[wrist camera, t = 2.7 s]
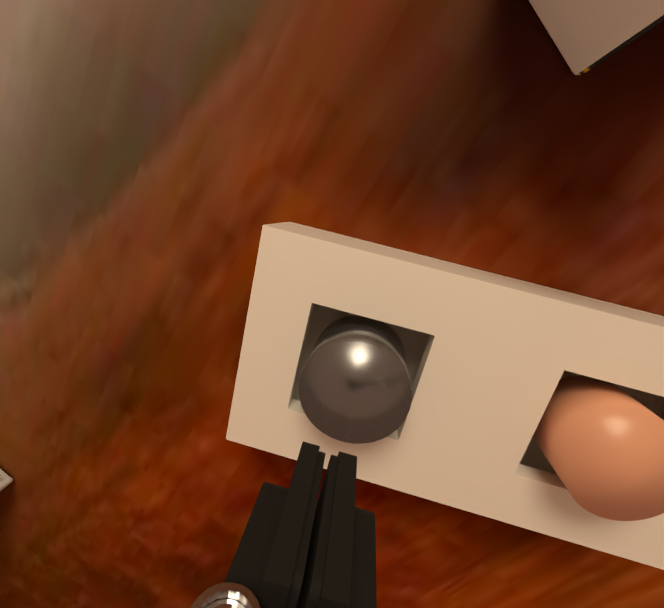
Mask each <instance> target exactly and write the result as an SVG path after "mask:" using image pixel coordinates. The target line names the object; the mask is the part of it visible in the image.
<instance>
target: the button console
mask: <svg viewBox="0 0 664 608" xmlns="http://www.w3.org/2000/svg"><path fill="white" fill-rule="evenodd" d="M350 315H360V316H363V317H367V318H371V319H374V320H378V321H382V322H385V323H386V324H388V325H389V326H390V327H391V328H392V329H393V330H394V331H395V332H396V333H397V335H398V336H399V338H400V340H401V342H402V344H403V347H404V351H405V357H406V362H407V368H408V373H409V379H410V385H411V390H412V401H411V407H410V410H409V413H408V415H407V417H406V419H405V420H404V422H403V423H402V424H401V426H400V427H399V428H398V429H397V430H396V431H395V432H393V433H392V434H390V435H389V436H387V437H385V438H383V439H381V440H378V441H375V442H371V443H364V444H353V443H346V442H342V441H339V440H336V439H333V438H331V437H329V436H327V435H326V434H324V433H322V432H321V431H320V430H318V429H317V428H316V427H315V426H314V425H313V424H312V423H311V422H310V420H309V419H308V418H307V416H306V414H305V413H304V411H303V408H302V406H301V402H300V399H299V382H300V378H301V374H302V372H303V370H304V368H305V366H306V364H307V361H308V359H309V357H310V355H311V353H312V351H313V349H314V347H315V345H316V343H317V340H318V338H319V336H320V335H321V333H322V332H323V330H324V329H325V328H326V327H327V326H328V325H330V324H331V323H332V322H334V321H335V320H337V319H340V318H342V317H345V316H350ZM578 375H584V376H588V377H591V378H595V379H599V380H603V381H606V382H610V383H613V384H615V385H616V386H618V387H619V388H620V389H622V390H623V391H625V392H626V393H627V394H629V395H630V396H631V397H633V398H634V399H635V400H637V401H638V402H639V403H641V404H642V405H643V406H645V407H646V408H648V409H649V410H650V411H652V412H653V413H654V414H656V415H657V416H658V417H660V418H661V419H662V420H664V316H661V315H657V314H653V313H649V312H645V311H641V310H637V309H633V308H629V307H625V306H621V305H617V304H613V303H609V302H605V301H601V300H597V299H593V298H589V297H586V296H582V295H578V294H574V293H570V292H566V291H562V290H558V289H554V288H550V287H546V286H542V285H538V284H534V283H530V282H526V281H522V280H518V279H514V278H510V277H507V276H503V275H499V274H495V273H491V272H487V271H483V270H479V269H475V268H471V267H467V266H463V265H459V264H455V263H451V262H447V261H443V260H439V259H435V258H431V257H427V256H424V255H420V254H416V253H412V252H408V251H404V250H400V249H396V248H392V247H388V246H384V245H380V244H376V243H372V242H368V241H364V240H360V239H356V238H352V237H348V236H345V235H341V234H337V233H333V232H329V231H325V230H321V229H317V228H313V227H309V226H305V225H301V224H297V223H293V222H283V223H275V224H267V225H263V227H262V233H261V239H260V245H259V251H258V256H257V262H256V268H255V274H254V279H253V285H252V291H251V297H250V302H249V308H248V314H247V320H246V325H245V331H244V337H243V343H242V349H241V354H240V360H239V366H238V372H237V377H236V383H235V389H234V395H233V400H232V406H231V412H230V418H229V423H228V429H227V435H226V439H227V440H230V441H233V442H237V443H240V444H243V445H247V446H250V447H253V448H257V449H260V450H264V451H267V452H270V453H274V454H277V455H280V456H284V457H287V458H290V459H294V460H297V459H298V456H299V452H300V449H301V445H302V442H303V441H304V442H307V443H311V444H315V445H318V446H320V449H319V451H320V452H324V453H326V454H325V460H324V466H323V468H324V469H327V467H328V463H329V460H330V456H331V455H335V456H338V453H339V451H340V452H344V453H347V454H351V455H355V456H357V473H356V478H358V479H361V480H364V481H368V482H371V483H374V484H378V485H381V486H384V487H388V488H391V489H394V490H398V491H401V492H405V493H408V494H411V495H415V496H418V497H421V498H425V499H428V500H431V501H435V502H438V503H441V504H445V505H448V506H451V507H455V508H458V509H462V510H465V511H468V512H472V513H475V514H478V515H482V516H485V517H488V518H492V519H495V520H498V521H502V522H505V523H509V524H512V525H515V526H519V527H522V528H525V529H529V530H532V531H535V532H539V533H542V534H545V535H549V536H552V537H556V538H559V539H562V540H566V541H569V542H572V543H576V544H579V545H582V546H586V547H589V548H592V549H596V550H599V551H603V552H606V553H609V554H613V555H616V556H619V557H623V558H626V559H629V560H633V561H636V562H639V563H643V564H646V565H650V566H653V567H656V568H660V569H663V570H664V513H663V514H661V515H658V516H655V517H652V518H648V519H644V520H637V521H616V520H610V519H606V518H602V517H599V516H596V515H594V514H592V513H590V512H589V511H587V510H585V509H584V508H583V507H581V506H580V505H579V504H578V503H577V502H576V501H575V500H574V498H573V497H572V495H571V494H570V492H569V491H568V490H567V488H566V487H565V485H564V484H563V482H562V481H561V479H560V478H559V476H558V475H557V473H556V472H555V470H554V469H553V467H552V466H551V464H550V463H549V461H548V460H547V458H546V457H545V455H544V454H543V453H542V451H541V450H540V448H539V447H538V445H537V444H536V442H535V441H534V439H533V438H532V436H533V434H534V432H535V430H536V428H537V426H538V424H539V422H540V420H541V418H542V416H543V414H544V411H545V409H546V407H547V405H548V403H549V401H550V399H551V397H552V395H553V393H554V391H555V389H556V387H557V384H558V382H559V380H561V379H563V378H567V377H571V376H578Z"/></svg>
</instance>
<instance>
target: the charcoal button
mask: <svg viewBox="0 0 664 608" xmlns="http://www.w3.org/2000/svg"><path fill="white" fill-rule="evenodd" d="M299 399H300V402H301V406H302V408H303V411H304V413H305V414H306V416H307V418H308V419H309V420H310V422H311V423H312V424H313V425H314V426H315V427H316V428H317V429H318V430H320V431H321V432H322V433H324V434H326V435H327V436H329V437H331V438H333V439H336V440H339V441H342V442H346V443H353V444H364V443H371V442H375V441H378V440H381V439H383V438H385V437H387V436H389V435H390V434H392V433H393V432H395V431H396V430H397V429H398V428H399V427H400V426H401V424H402V423H403V422H404V420H405V419H406V417H407V415H408V413H409V410H410V407H411V401H412V390H411V385H410V379H409V373H408V368H407V362H406V357H405V351H404V347H403V344H402V342H401V340H400V338H399V336H398V335H397V333H396V332H395V331H394V330H393V329H392V328H391V327H390V326H389V325H388V324H386V323H385V322H382V321H378V320H374V319H371V318H367V317H363V316H360V315H350V316H345V317H342V318H340V319H337V320H335V321H334V322H332V323H331V324H330V325H328V326H327V327H326V328H325V329H324V330H323V332H322V333H321V335H320V336H319V338H318V340H317V343H316V345H315V347H314V349H313V351H312V353H311V355H310V357H309V359H308V361H307V364H306V366H305V368H304V370H303V372H302V374H301V378H300V382H299Z"/></svg>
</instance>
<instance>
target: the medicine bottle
mask: <svg viewBox="0 0 664 608" xmlns="http://www.w3.org/2000/svg"><path fill="white" fill-rule="evenodd" d="M529 2H530V4H531V5H532V7H533V9H534V10H535V12H536V13H537V15H538V17H539V18H540V20H541V22H542V23H543V25H544V27H545V28H546V30H547V31H548V33H549V35H550V36H551V38H552V40H553V41H554V43H555V44H556V46H557V48H558V49H559V51H560V53H561V54H562V56H563V58H564V59H565V61H566V62H567V64H568V66H569V67H570V69H571V71H572V72H573V73H574V74H575V75H582V74H584V73H586V72H587V71H589V70H590V69H592V68H593V67H595V66H596V65H598V64H599V63H601V62H602V61H604V60H605V59H607V58H608V57H610V56H611V55H613V54H614V53H616V52H617V51H619V50H620V49H622V48H623V47H625V46H626V45H628V44H629V43H631V42H632V41H634V40H635V39H637V38H638V37H640V36H641V35H643V34H644V33H646V32H647V31H649V30H650V29H652V28H653V27H655V26H656V25H658V24H659V23H661V22H662V21H664V0H529Z"/></svg>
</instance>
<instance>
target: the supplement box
mask: <svg viewBox="0 0 664 608" xmlns="http://www.w3.org/2000/svg"><path fill="white" fill-rule="evenodd" d="M12 481H13V478H12V477H10V476H9V475H7V474H6V473H5V472H4V471H3V470H2V469H1V468H0V491H1V490H3V489H4V488H5V487H6V486H8V485H9V484H10V483H11V482H12Z"/></svg>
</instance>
